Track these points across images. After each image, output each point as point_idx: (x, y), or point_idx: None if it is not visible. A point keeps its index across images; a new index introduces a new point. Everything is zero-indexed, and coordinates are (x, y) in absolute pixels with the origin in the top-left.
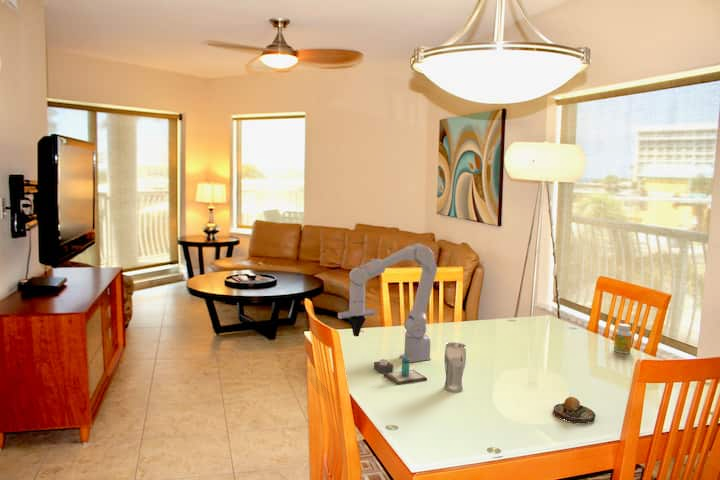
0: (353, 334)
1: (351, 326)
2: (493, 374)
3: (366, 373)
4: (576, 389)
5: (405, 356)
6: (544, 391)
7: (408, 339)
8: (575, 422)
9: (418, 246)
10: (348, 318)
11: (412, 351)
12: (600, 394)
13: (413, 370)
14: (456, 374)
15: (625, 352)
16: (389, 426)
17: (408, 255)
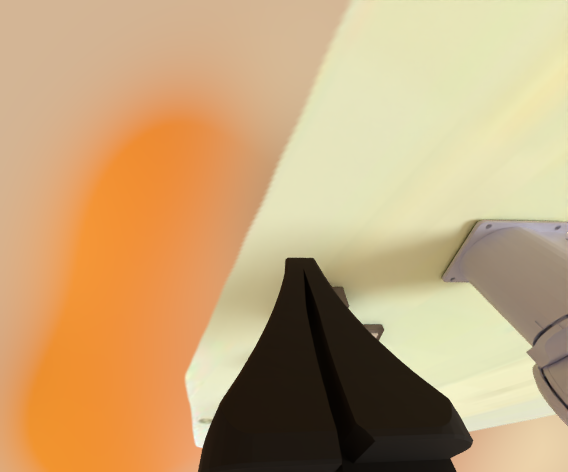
0: (285, 267)
1: (273, 310)
2: (504, 364)
3: (261, 303)
4: (516, 407)
5: (467, 258)
6: (475, 404)
7: (527, 329)
8: None
9: None
10: (215, 426)
11: (485, 297)
12: (515, 416)
13: (379, 333)
14: None
15: None
16: (204, 420)
17: None
